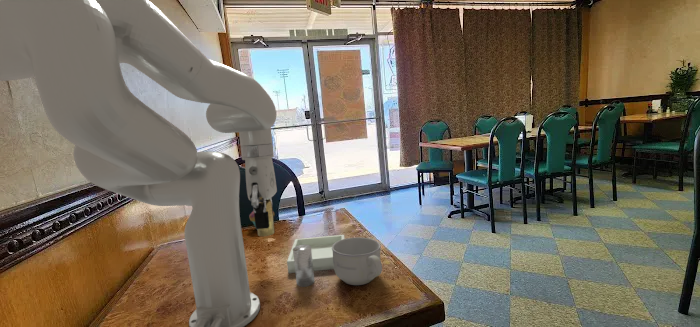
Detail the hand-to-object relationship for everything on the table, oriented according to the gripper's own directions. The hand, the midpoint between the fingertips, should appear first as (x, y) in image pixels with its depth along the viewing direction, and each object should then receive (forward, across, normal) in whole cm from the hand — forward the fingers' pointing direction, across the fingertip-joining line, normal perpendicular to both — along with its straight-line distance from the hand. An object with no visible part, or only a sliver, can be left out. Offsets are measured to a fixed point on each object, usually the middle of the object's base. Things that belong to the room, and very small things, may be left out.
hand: (265, 224), depth 76 cm
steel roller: (+11, -9, -10) cm, 18 cm away
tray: (+11, +3, -12) cm, 17 cm away
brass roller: (+2, 0, 0) cm, 2 cm away
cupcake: (+10, +31, +10) cm, 34 cm away
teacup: (+12, -11, -23) cm, 28 cm away
